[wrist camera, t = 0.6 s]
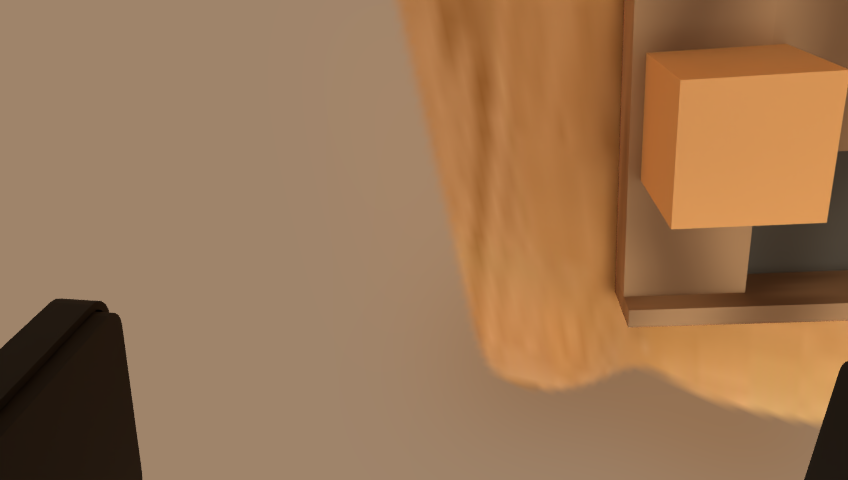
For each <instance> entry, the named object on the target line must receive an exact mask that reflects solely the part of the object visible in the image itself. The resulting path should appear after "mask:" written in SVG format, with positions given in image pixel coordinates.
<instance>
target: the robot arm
mask: <svg viewBox="0 0 848 480" xmlns="http://www.w3.org/2000/svg"><path fill="white" fill-rule="evenodd" d="M0 480H142V470H141V462H140V455H139V448H138V440H137V433H136V425H135V418H134V410H133V403H132V396H131V388H130V381H129V373H128V366H127V360H126V351H125V344H124V336H123V329H122V323H121V319H120V317H119V315H117V314H116V313H109V310H108V308H107V306H106V304H104V303H103V302H102V301H88V300H74V299H55V300H53V301H52V302H50V303H49V304H48V305H47V306H46V307H45V308H44V309H43V310H42V311H41V312H40V313H38V314H37V315H36V316H35V317H34V318H33V319H32V320H31V321H30V322H29V323H28V324H27V325H26V326H24V327H23V328H22V329H21V330H20V331H19V332H18V333H17V334H16V335H15V336H14V337H13V338H12V339H10V340H9V341H8V342H7V343H6V344H5V345H4V346H3V347H2V348H1V349H0ZM804 480H848V361H847V362H845V363H844V364H843V365H842V367H841V369H840V371H839V374H838V377H837V380H836V383H835V386H834V389H833V392H832V395H831V398H830V402H829V405H828V408H827V411H826V414H825V417H824V420H823V423H822V426H821V429H820V433H819V436H818V439H817V442H816V445H815V448H814V451H813V454H812V457H811V461H810V464H809V467H808V470H807V473H806V476H805V479H804Z"/></svg>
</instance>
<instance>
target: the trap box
mask: <svg viewBox="0 0 848 480" xmlns="http://www.w3.org/2000/svg"><path fill="white" fill-rule="evenodd" d="M777 44H788V45H791V46H793V47H795V48H798V49H800V50H803V51H805V52H808V53H810V54H813V55H815V56H817V57H820V58H822V59H825V60H827V61H830V62H832V63H835V64H837V65H839V66H842V67H844V68H847V69H848V0H624V24H623V56H622V88H621V120H620V152H619V183H618V215H617V247H616V279H615V293H616V295H617V298H618V301H619V303H620V306H621V309H622V312H623V314H624V317H625V320H626V322H627V325H628V327H656V326H688V325H720V324H752V323H784V322H816V321H848V88H847V94H846V101H845V107H844V114H843V120H842V127H841V133H840V140H839V146H838V153H837V159H836V166H835V172H834V179H833V185H832V192H831V198H830V205H829V211H828V218H827V223H809V224H786V225H762V226H739V227H716V228H692V229H671V228H670V227H669V225H668V224H667V222H666V220H665V219H664V217H663V216H662V214H661V212H660V211H659V209H658V208H657V206H656V204H655V203H654V201H653V199H652V198H651V196H650V195H649V193H648V191H647V190H646V188H645V187H644V185H643V183H642V182H641V164H642V141H643V118H644V96H645V73H646V53H653V52H668V51H684V50H699V49H715V48H730V47H746V46H762V45H777Z"/></svg>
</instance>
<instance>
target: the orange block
mask: <svg viewBox="0 0 848 480" xmlns="http://www.w3.org/2000/svg"><path fill="white" fill-rule="evenodd" d="M847 88H848V69H847V68H844V67H842V66H839V65H837V64H835V63H832V62H830V61H827V60H825V59H822V58H820V57H817V56H815V55H813V54H810V53H808V52H805V51H803V50H800V49H798V48H795V47H793V46H791V45H788V44H777V45H762V46H746V47H730V48H715V49H699V50H684V51H668V52H653V53H646V73H645V96H644V118H643V141H642V164H641V182H642V183H643V185H644V187H645V188H646V190H647V191H648V193H649V195H650V196H651V198H652V199H653V201H654V203H655V204H656V206H657V208H658V209H659V211H660V212H661V214H662V216H663V217H664V219H665V220H666V222H667V224H668V225H669V227H670V228H671V229H692V228H716V227H739V226H762V225H786V224H809V223H827V218H828V211H829V205H830V198H831V192H832V185H833V179H834V172H835V166H836V159H837V153H838V146H839V140H840V133H841V127H842V120H843V114H844V107H845V101H846V94H847Z"/></svg>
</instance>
